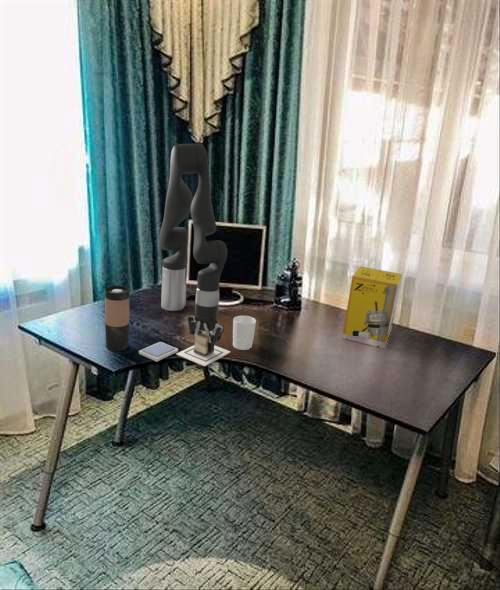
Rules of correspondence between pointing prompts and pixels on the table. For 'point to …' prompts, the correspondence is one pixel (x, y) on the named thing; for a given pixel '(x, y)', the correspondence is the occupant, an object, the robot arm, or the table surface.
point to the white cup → (243, 332)
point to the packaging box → (372, 303)
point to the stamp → (201, 344)
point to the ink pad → (158, 351)
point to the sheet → (201, 359)
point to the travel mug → (117, 317)
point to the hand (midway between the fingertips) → (204, 349)
